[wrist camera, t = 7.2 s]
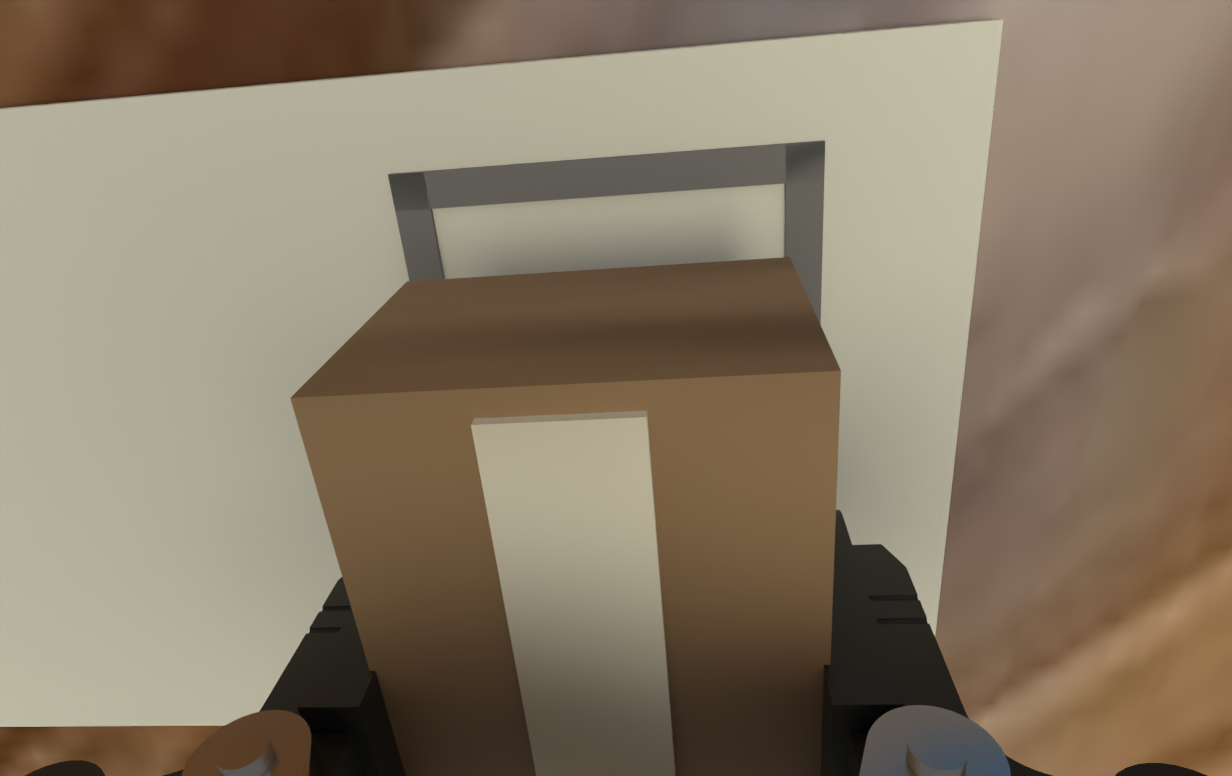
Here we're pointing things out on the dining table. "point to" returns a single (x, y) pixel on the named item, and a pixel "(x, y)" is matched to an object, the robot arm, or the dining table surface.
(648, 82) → the mat
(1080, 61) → the dining table surface
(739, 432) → the card box
